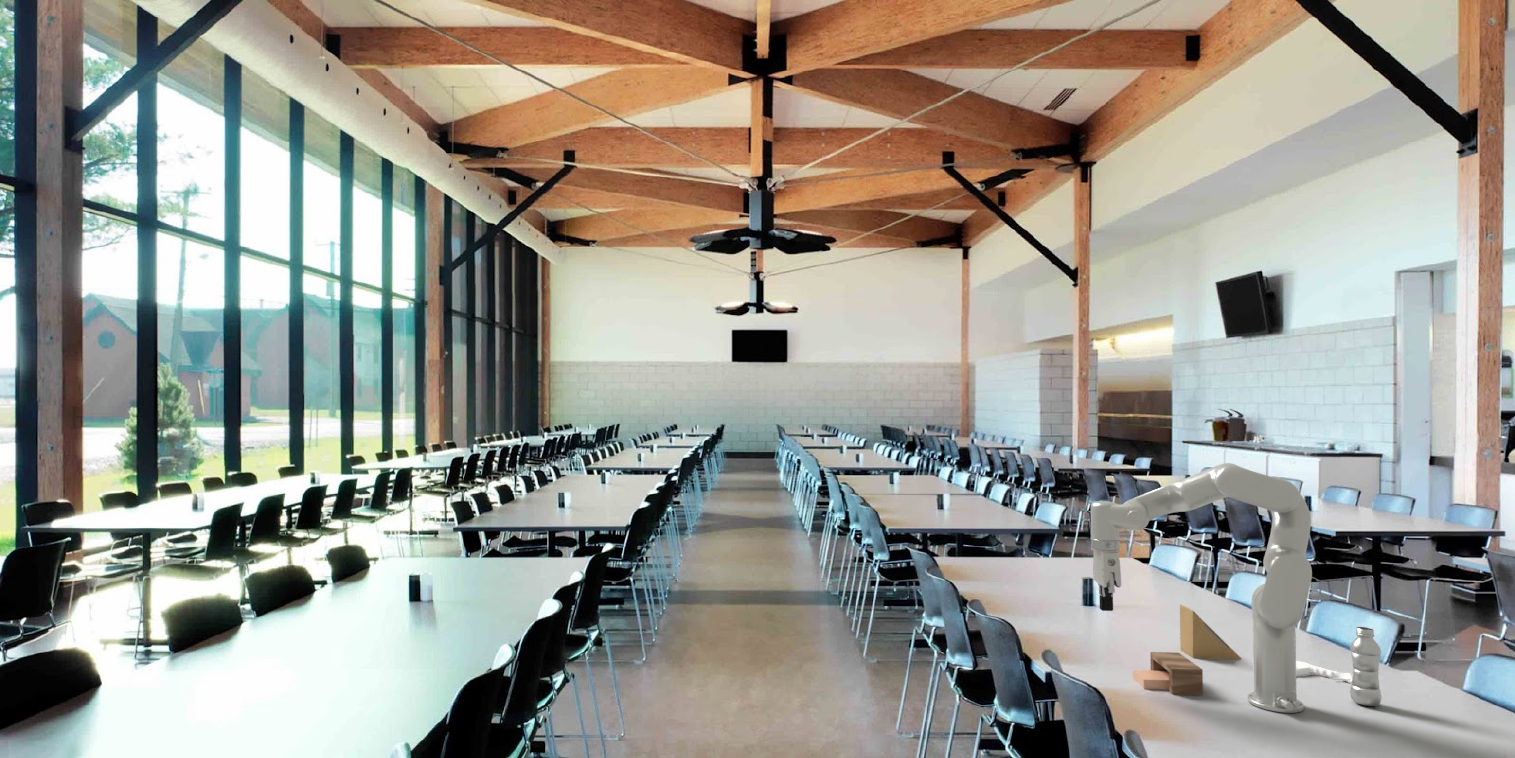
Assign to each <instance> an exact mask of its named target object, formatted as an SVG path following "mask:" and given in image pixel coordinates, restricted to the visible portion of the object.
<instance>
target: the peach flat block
mask: <svg viewBox="0 0 1515 758" xmlns="http://www.w3.org/2000/svg"><path fill="white" fill-rule="evenodd" d="M1132 679H1133V681H1134V682H1135V683H1137V682H1138V683H1139V684H1140V685H1141V686H1142V687H1143V688H1144V689H1145V690H1169V671H1151V669H1150V670H1146V669H1145V670H1144V669H1140V670H1139V669H1133V670H1132ZM1138 683H1137V684H1138ZM1139 684H1138V685H1139ZM1140 685H1139V686H1140ZM1141 686H1140V687H1141ZM1142 687H1141V688H1142ZM1143 688H1142V689H1143Z"/></svg>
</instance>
